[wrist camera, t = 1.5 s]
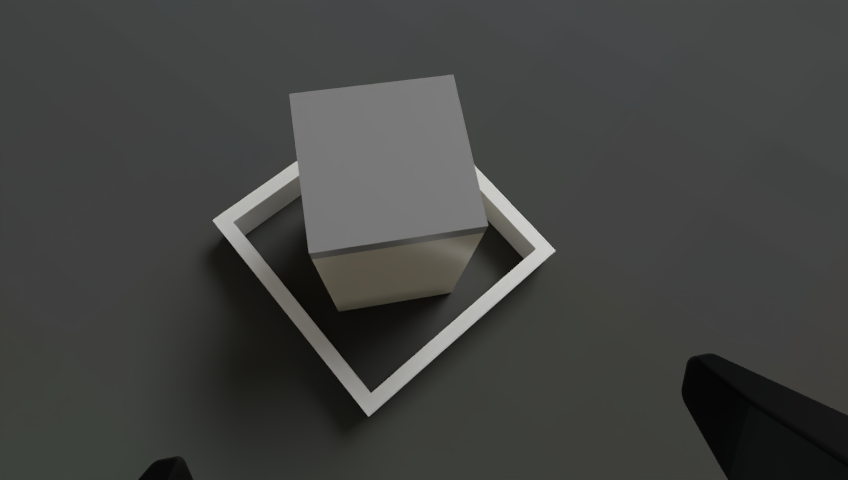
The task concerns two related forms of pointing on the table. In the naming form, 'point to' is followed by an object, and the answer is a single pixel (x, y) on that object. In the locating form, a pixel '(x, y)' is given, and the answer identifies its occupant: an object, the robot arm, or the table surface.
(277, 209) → the square frame
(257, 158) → the table surface
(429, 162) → the cream grey rectangular block
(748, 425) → the robot arm
